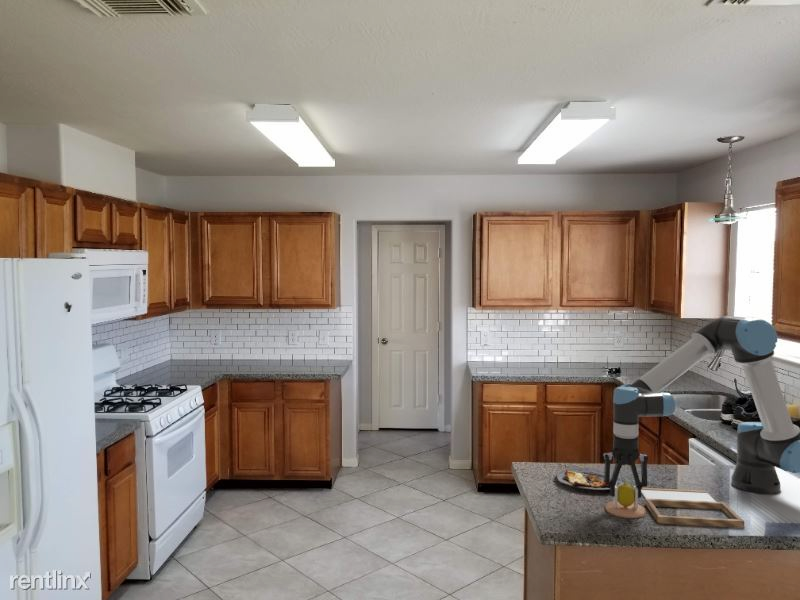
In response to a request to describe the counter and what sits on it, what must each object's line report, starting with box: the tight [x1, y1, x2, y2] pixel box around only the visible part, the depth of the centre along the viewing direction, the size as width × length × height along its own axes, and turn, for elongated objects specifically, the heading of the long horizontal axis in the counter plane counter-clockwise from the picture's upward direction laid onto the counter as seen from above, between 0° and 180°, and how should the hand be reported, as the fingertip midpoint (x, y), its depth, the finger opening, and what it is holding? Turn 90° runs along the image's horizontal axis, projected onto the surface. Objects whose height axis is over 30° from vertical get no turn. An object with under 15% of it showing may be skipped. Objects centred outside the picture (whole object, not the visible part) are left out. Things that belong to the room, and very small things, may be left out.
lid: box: [641, 487, 717, 502], centre depth 199 cm, size 22×13×1 cm, turn 81°
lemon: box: [617, 482, 635, 508], centre depth 189 cm, size 6×6×8 cm
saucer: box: [605, 500, 646, 519], centre depth 189 cm, size 12×12×1 cm
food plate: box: [556, 466, 625, 491], centre depth 216 cm, size 25×23×4 cm
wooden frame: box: [644, 498, 745, 529], centre depth 185 cm, size 24×16×2 cm, turn 81°
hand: (625, 506), depth 189 cm, fingers closed on lemon, 5 cm apart
